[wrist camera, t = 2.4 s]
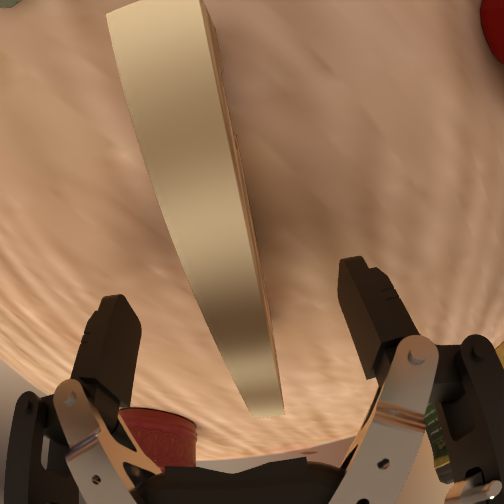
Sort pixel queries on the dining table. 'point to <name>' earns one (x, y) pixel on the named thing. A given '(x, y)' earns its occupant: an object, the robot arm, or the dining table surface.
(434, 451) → the coffee jar
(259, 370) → the brass bar
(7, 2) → the sage green notched block
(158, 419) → the canister
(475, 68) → the dining table surface
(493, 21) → the plastic cup
